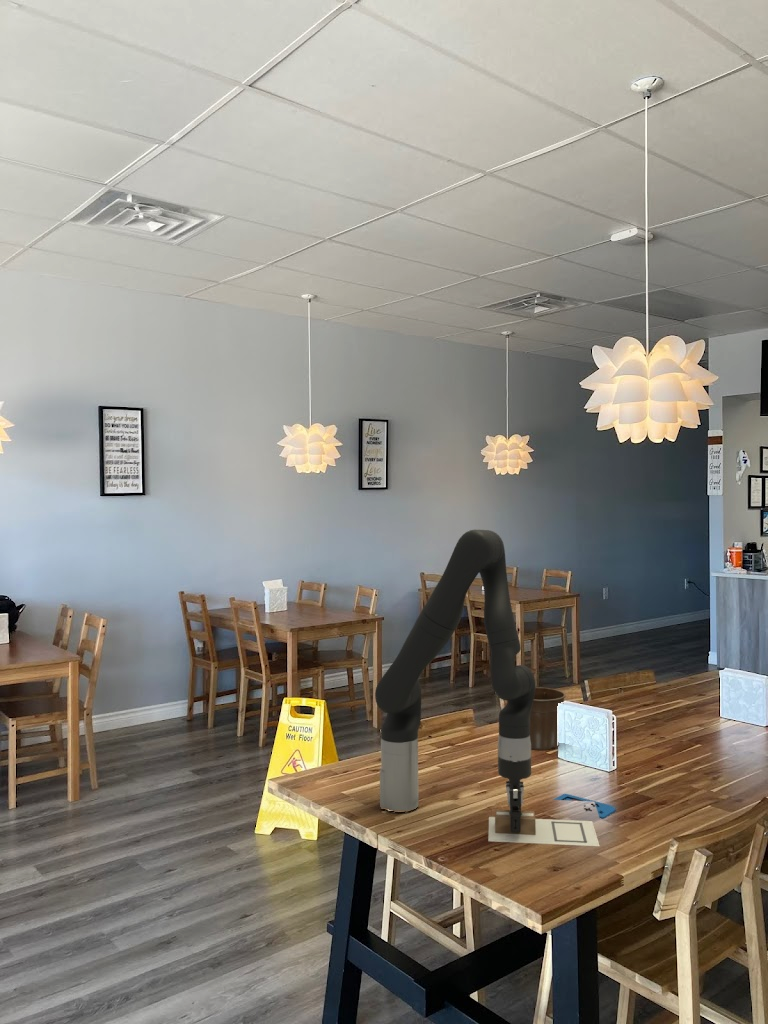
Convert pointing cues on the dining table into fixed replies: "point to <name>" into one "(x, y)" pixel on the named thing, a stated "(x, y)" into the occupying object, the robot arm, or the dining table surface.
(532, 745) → the plant pot
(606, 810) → the handheld gaming device
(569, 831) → the mat
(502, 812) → the card box
